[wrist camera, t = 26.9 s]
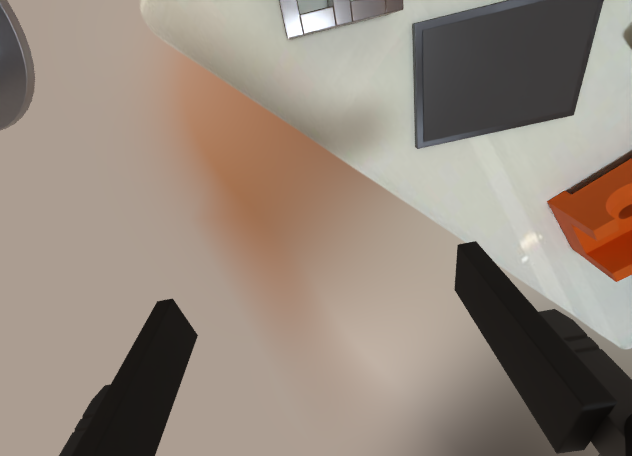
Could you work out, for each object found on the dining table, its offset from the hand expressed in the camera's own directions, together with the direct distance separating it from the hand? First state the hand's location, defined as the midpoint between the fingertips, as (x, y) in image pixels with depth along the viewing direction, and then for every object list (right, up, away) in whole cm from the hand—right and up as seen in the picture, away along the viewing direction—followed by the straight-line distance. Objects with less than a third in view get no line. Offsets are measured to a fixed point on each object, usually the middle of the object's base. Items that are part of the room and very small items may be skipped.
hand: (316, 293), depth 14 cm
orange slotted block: (+47, +9, +31) cm, 57 cm away
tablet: (+22, +22, +21) cm, 37 cm away
